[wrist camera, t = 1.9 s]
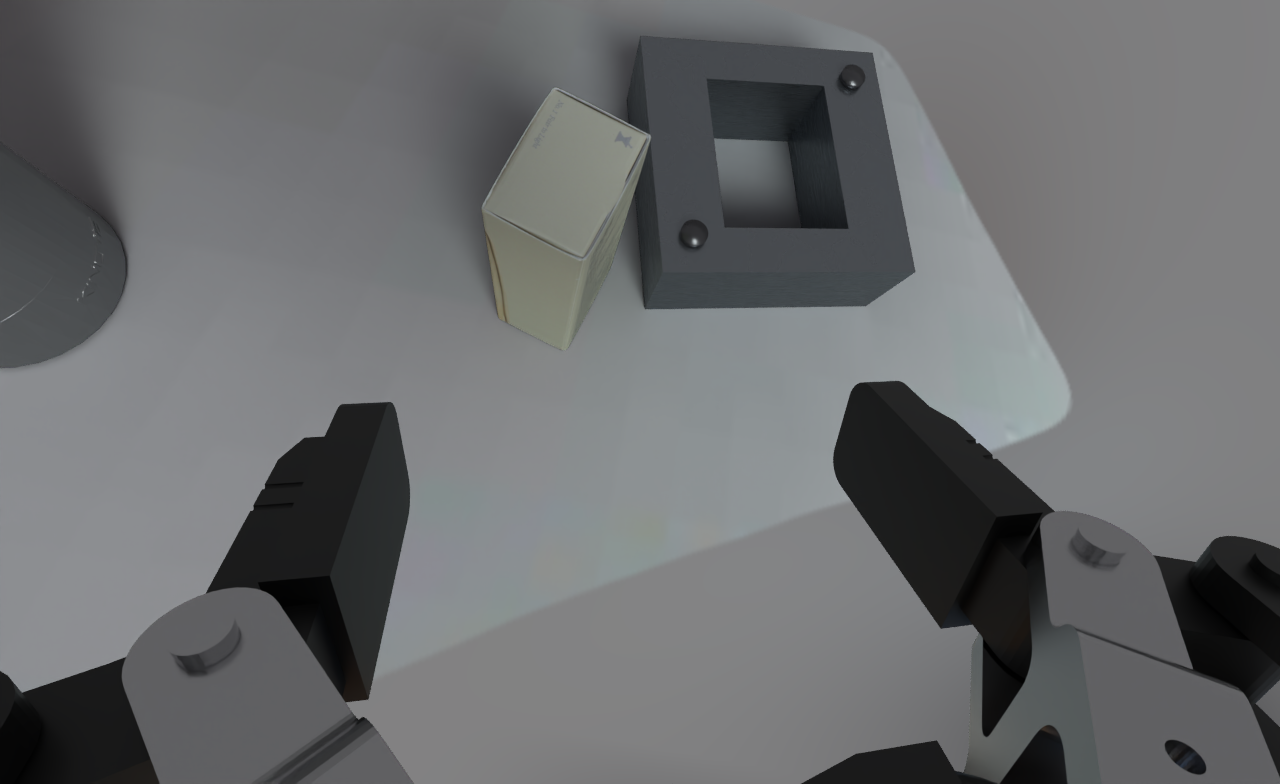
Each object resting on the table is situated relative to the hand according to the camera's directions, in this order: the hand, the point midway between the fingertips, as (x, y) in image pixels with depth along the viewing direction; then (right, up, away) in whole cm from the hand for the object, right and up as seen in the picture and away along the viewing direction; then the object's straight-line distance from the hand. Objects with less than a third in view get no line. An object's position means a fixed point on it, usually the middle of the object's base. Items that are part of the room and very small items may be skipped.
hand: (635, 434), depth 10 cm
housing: (+7, +13, +27) cm, 30 cm away
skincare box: (-5, +6, +23) cm, 25 cm away
